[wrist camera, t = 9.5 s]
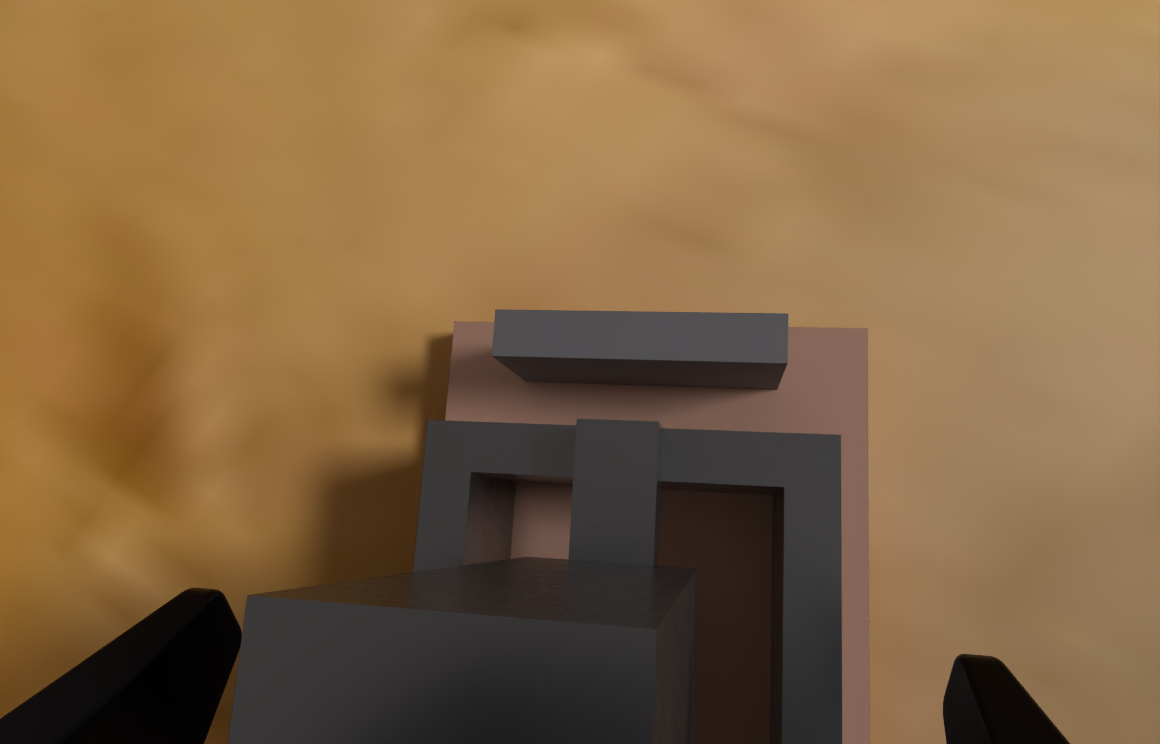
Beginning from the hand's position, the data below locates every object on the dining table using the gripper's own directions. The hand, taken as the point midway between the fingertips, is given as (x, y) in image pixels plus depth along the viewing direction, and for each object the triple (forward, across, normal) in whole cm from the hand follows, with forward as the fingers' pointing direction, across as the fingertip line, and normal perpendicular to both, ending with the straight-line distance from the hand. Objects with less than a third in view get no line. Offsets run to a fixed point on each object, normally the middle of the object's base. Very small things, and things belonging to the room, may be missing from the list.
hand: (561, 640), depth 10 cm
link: (+6, 0, +7) cm, 9 cm away
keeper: (+6, 0, +7) cm, 10 cm away
